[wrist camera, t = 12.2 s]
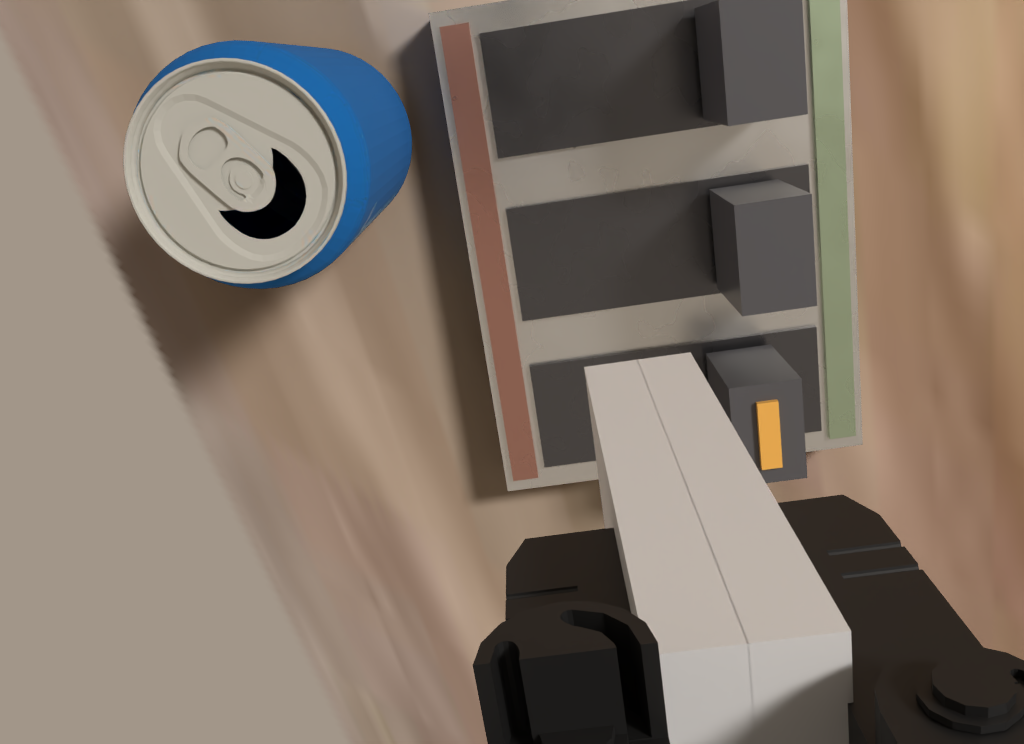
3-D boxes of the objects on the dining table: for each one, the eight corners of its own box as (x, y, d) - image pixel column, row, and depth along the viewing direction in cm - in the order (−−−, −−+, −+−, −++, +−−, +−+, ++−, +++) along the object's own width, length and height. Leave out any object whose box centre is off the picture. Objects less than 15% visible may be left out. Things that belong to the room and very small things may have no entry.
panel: (434, 16, 33) (428, 12, 31) (826, -48, 33) (847, -55, 30) (508, 470, 39) (507, 493, 37) (845, 425, 38) (864, 446, 36)
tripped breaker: (705, 353, 34) (730, 390, 30) (770, 344, 34) (803, 380, 30) (713, 442, 36) (738, 489, 32) (776, 433, 35) (808, 480, 31)
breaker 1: (694, 8, 31) (718, -1, 27) (766, -4, 31) (801, -14, 27) (703, 119, 32) (728, 126, 28) (773, 108, 32) (807, 114, 28)
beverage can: (338, 260, 36) (255, 349, 25) (206, 143, 35) (54, 180, 23) (450, 136, 35) (415, 170, 23) (316, 9, 33) (210, -21, 22)
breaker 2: (709, 189, 33) (733, 205, 29) (777, 179, 32) (811, 193, 29) (717, 288, 34) (742, 316, 30) (783, 278, 34) (817, 305, 30)
